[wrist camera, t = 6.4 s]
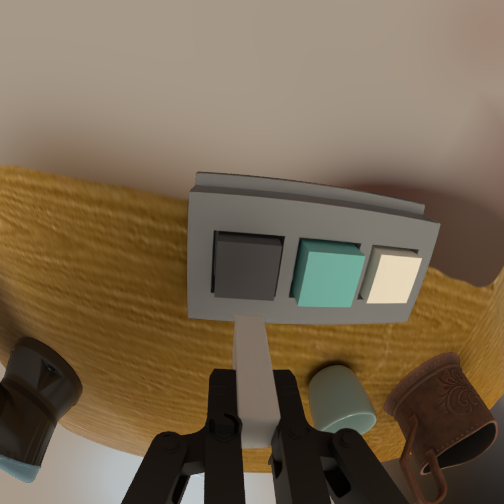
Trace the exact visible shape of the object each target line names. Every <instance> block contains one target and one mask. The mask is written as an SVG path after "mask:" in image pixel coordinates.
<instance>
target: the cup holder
mask: <svg viewBox="0 0 504 504" xmlns="http://www.w3.org/2000/svg"><path fill="white" fill-rule="evenodd" d="M384 410H385V411H386V413H387V414H389V415H391V416H393V417H394V418H395V420H397V422H398V424H399V426H400V428H401V430H402V432H403V435H404V437H405V439H406V443H405V446H404V449H403V452H402V455H401V458H400V460H399V461H400V467H401V470H402V472H403V475H404V477H405V480H406V483H407V486H408V488H409V491H410V494H411V497H412V500H413V502H414V504H438V503H439V502H441V500H443V498H444V497H445V495H446V493H447V484H446V481H445V479H444V476H443V474H442V472H441V469H444V468H447V467H452V466H456V465H460V464H464V463H467V462H469V461H471V460H473V459H475V458H477V457H478V456H480V455H481V454H482V453H483V452H485V451H486V450H487V449H488V448H489V447H490V446H491V445H492V444H493V442H494V440H495V439H496V437H497V433H498V424H497V422H496V420H495V419H494V417H493V416H492V414H491V413H490V411H489V409H488V408H487V406H486V405H485V403H484V402H483V400H482V399H481V398H480V396H479V395H478V393H477V392H476V390H475V389H474V387H473V386H472V385H471V383H470V382H469V381H468V379H467V378H466V376H465V375H464V374H463V372H462V368H461V367H460V359H459V356H458V355H457V353H453V352H448V353H443V354H440V355H438V356H435V357H433V358H431V359H430V360H428V361H426V362H424V363H423V364H421V365H420V366H419V367H417V368H416V369H414V370H413V371H412V372H410V373H409V374H408V375H407V376H406V377H405V378H403V379H402V380H401V381H400V382H399V383H398V384H397V386H396V387H395V388H394V389H393V390H392V391H391V393H390V394H389V396H388V397H387V399H386V402H385V404H384ZM410 451H411V453H412V455H413V457H414V459H415V462H416V464H417V467H418V469H419V471H420V474H421V475H425V474H428V473H431V474H432V476H433V478H434V481H435V483H436V485H437V488H438V495H437V498H436V499H435V501H433V502H432V503H430V502H427V501H425V499H424V498H423V495H422V493H421V490H420V487H419V485H418V482H417V480H416V478H415V475H414V473H413V470H412V468H411V465H410V463H409V454H410Z"/></svg>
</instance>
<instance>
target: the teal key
mask: <svg viewBox="0 0 504 504" xmlns="http://www.w3.org/2000/svg"><path fill="white" fill-rule="evenodd" d="M365 257H366V256H365V255H364V254H363V253H362V252H361V251H360V250H359V249H358V248H357V247H356V246H355V245H354V244H353V243H346V242H336V241H325V240H315V239H304V238H301V239H300V245H299V251H298V256H297V262H296V267H295V273H294V278H293V283H292V288H291V289H292V291H293V294H294V297H295V300H296V303H297V306H304V307H351V305H352V301H353V298H354V295H355V292H356V289H357V285H358V282H359V278H360V275H361V271H362V268H363V264H364V260H365Z"/></svg>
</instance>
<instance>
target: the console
mask: <svg viewBox="0 0 504 504" xmlns="http://www.w3.org/2000/svg"><path fill="white" fill-rule="evenodd" d="M424 208H425V205H424V204H421V203H419V202H415V201H410V200H406V199H401V198H396V197H392V196H386V195H381V194H377V193H371V192H366V191H361V190H355V189H349V188H343V187H336V186H331V185H324V184H317V183H310V182H302V181H295V180H287V179H279V178H270V177H259V176H250V175H239V174H227V173H211V172H197V173H196V184H195V186H194V187H193V188H192V189H191V191H190V192H189V208H188V241H187V304H188V318H195V319H207V320H220V321H235V317H236V315H239V316H260V317H263V318H264V323H277V324H370V323H393V322H407V320H408V318H409V315H410V313H411V311H412V308H413V306H414V303H415V301H416V298H417V296H418V293H419V291H420V288H421V285H422V282H423V280H424V277H425V274H426V271H427V268H428V265H429V262H430V259H431V256H432V253H433V249H434V246H435V242H436V239H437V235H438V232H439V228H440V223H438V222H436V221H434V220H432V219H430V218H428V217H427V216H425V215H423V212H424ZM219 231H229V232H242V233H254V234H267V235H278V237H279V240H280V242H281V244H282V251H281V257H280V264H279V270H278V276H277V282H276V289H275V295H274V301H265V300H248V299H232V298H218V297H214V293H215V272H216V253H217V240H218V234H219ZM301 238H304V239H315V240H325V241H336V242H346V243H353V244H354V245H355V246H356V247H357V248H358V249H359V250H360V251H361V252H362V253H363V254H364V255H365V256H366V257H365V260H364V264H363V268H362V271H361V275H360V278H359V282H358V285H357V289H356V292H355V295H354V298H353V301H352V305H351V307H304V306H297V303H296V300H295V297H294V294H293V291H292V289H291V288H292V283H293V278H294V273H295V267H296V262H297V256H298V251H299V245H300V239H301ZM372 245H382V246H391V247H401V248H409V249H410V250H412V251H413V252H414V253H416V254H417V255H418V256H420V257H421V258H422V260H421V264H420V267H419V270H418V273H417V276H416V278H415V281H414V284H413V287H412V290H411V292H410V295H409V298H408V300H407V303H366V302H365V301H364V299H363V298H362V296H361V295H360V294H359V291H360V288H361V284H362V281H363V278H364V274H365V271H366V267H367V264H368V260H369V256H370V253H371V249H372Z"/></svg>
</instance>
